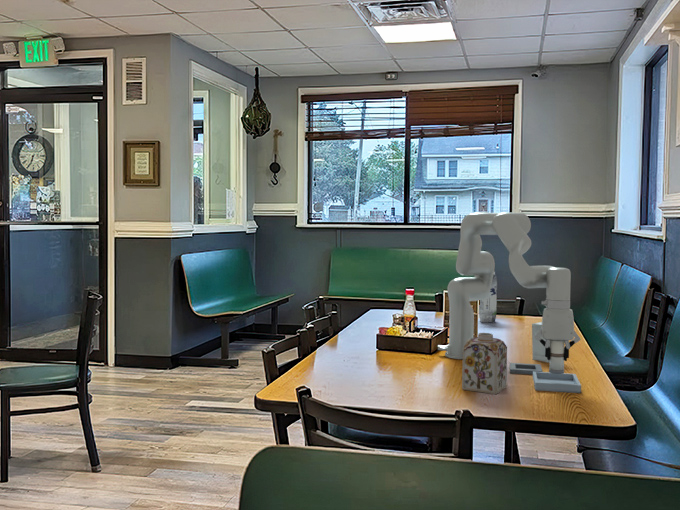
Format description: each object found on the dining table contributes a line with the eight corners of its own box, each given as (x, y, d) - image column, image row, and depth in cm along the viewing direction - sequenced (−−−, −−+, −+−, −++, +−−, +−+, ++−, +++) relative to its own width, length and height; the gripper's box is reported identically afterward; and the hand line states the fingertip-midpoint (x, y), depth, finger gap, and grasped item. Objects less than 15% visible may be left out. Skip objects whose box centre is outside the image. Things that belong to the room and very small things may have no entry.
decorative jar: (473, 382, 224) (474, 329, 223) (507, 387, 218) (508, 332, 217) (460, 390, 214) (461, 334, 213) (496, 395, 208) (497, 338, 207)
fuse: (549, 373, 218) (550, 337, 217) (548, 370, 223) (549, 334, 222) (564, 374, 217) (565, 337, 216) (563, 370, 222) (564, 335, 221)
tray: (535, 390, 214) (535, 382, 214) (532, 378, 230) (532, 371, 230) (580, 393, 211) (581, 385, 211) (575, 381, 226) (575, 373, 226)
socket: (509, 374, 235) (510, 369, 235) (509, 366, 248) (509, 361, 248) (542, 376, 232) (542, 371, 232) (539, 368, 245) (540, 362, 245)
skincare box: (558, 362, 256) (559, 324, 255) (548, 364, 252) (549, 325, 251) (541, 358, 263) (541, 321, 262) (530, 360, 259) (531, 322, 258)
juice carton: (479, 322, 351) (480, 271, 349) (478, 319, 361) (479, 270, 359) (496, 323, 349) (497, 272, 348) (495, 320, 359) (496, 270, 358)
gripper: (531, 305, 217) (530, 360, 218) (586, 307, 213) (585, 363, 214) (530, 302, 224) (529, 356, 225) (583, 304, 220) (582, 358, 221)
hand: (556, 359), depth 220 cm, fingers closed on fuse, 4 cm apart
